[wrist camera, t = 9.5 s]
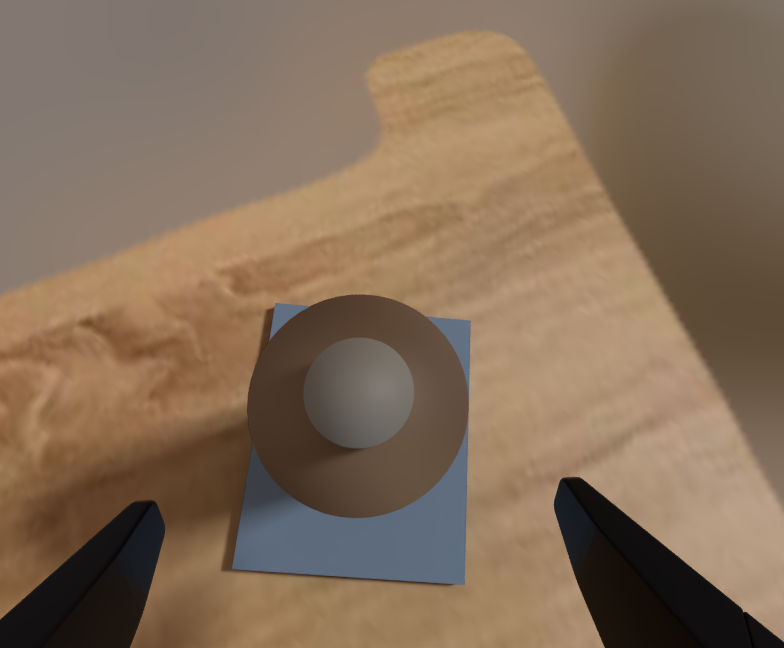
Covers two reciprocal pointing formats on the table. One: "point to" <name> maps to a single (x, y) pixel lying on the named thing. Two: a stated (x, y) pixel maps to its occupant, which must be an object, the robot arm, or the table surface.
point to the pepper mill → (358, 406)
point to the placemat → (359, 535)
